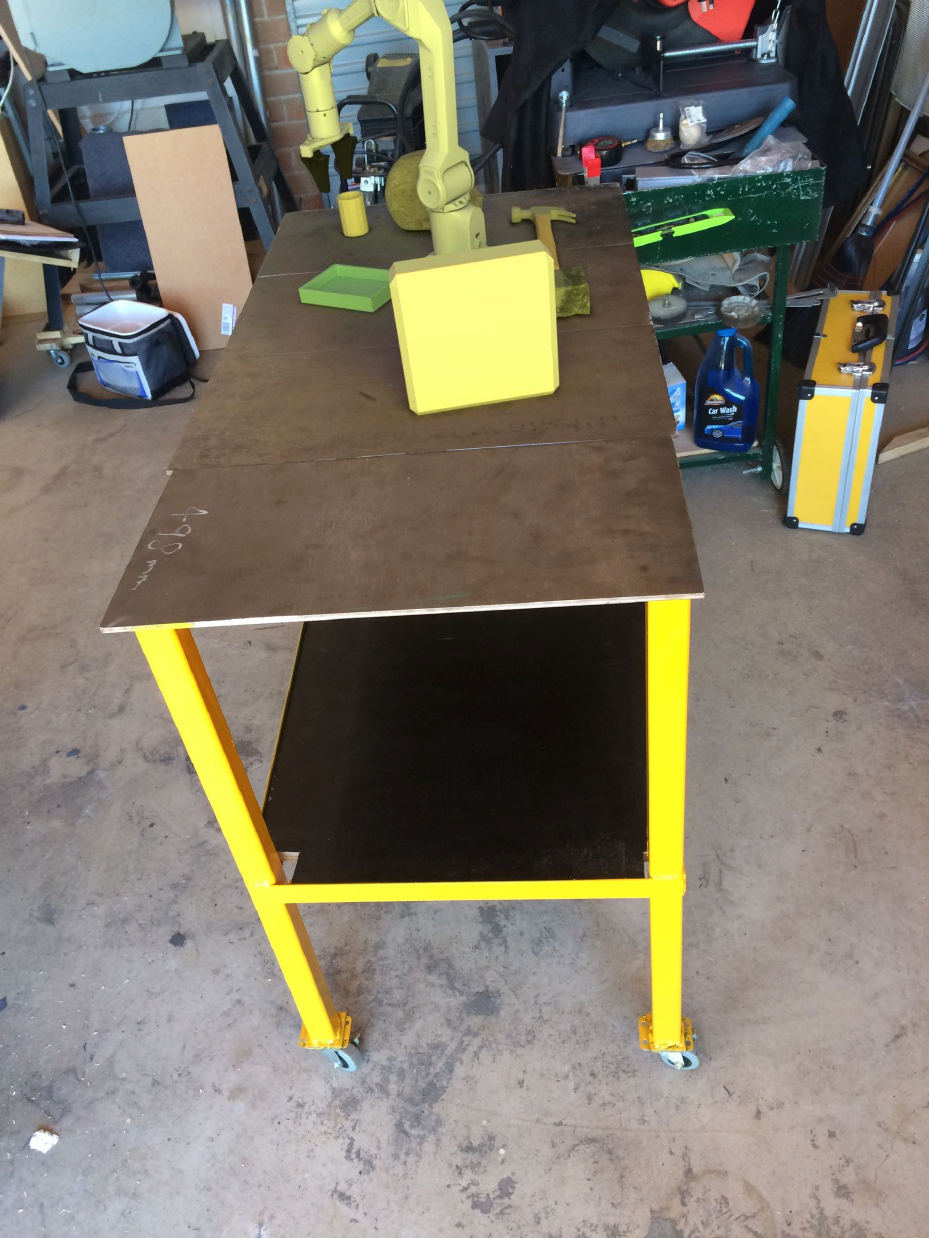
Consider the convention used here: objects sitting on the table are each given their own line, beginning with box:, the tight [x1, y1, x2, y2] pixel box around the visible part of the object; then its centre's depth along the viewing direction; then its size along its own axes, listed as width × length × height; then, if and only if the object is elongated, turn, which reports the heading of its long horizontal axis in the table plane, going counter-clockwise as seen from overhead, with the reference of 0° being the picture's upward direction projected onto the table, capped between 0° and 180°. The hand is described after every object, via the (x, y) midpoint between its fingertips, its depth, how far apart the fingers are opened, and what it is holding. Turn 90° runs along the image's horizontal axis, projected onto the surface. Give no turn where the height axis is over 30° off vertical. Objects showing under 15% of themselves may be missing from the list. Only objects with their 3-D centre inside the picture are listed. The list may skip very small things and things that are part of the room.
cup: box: [335, 190, 370, 238], centre depth 185 cm, size 5×5×7 cm
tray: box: [298, 263, 392, 313], centre depth 164 cm, size 15×11×2 cm
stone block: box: [554, 265, 591, 318], centre depth 150 cm, size 9×14×5 cm, turn 92°
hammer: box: [511, 205, 576, 270], centre depth 171 cm, size 12×3×30 cm
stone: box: [384, 148, 484, 231], centre depth 179 cm, size 19×7×15 cm, turn 77°
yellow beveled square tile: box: [388, 239, 560, 416], centre depth 126 cm, size 21×8×20 cm, turn 97°
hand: (336, 185), depth 180 cm, fingers open, 7 cm apart
